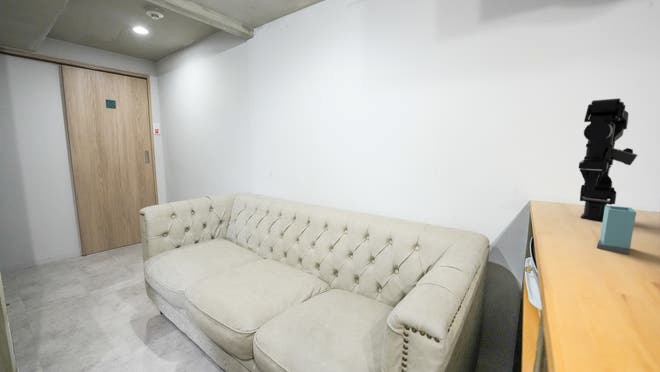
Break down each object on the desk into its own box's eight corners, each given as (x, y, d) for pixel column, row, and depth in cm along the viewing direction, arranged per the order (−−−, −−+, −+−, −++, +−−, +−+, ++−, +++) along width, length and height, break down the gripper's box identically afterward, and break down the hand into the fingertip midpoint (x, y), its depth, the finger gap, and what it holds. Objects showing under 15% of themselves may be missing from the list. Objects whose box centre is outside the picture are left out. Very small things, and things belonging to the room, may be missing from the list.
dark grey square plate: (599, 242, 80) (602, 227, 79) (630, 248, 75) (633, 232, 75) (596, 247, 76) (599, 232, 75) (628, 254, 72) (631, 238, 71)
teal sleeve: (599, 239, 79) (605, 205, 77) (624, 242, 76) (631, 207, 74) (603, 245, 75) (608, 209, 73) (629, 249, 72) (636, 212, 70)
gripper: (636, 141, 76) (626, 196, 78) (639, 139, 88) (630, 187, 90) (581, 141, 84) (575, 191, 87) (591, 139, 96) (585, 183, 99)
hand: (593, 188), depth 90 cm, fingers open, 9 cm apart
